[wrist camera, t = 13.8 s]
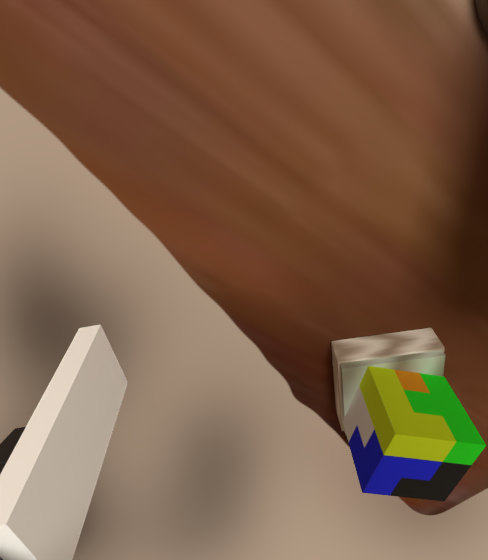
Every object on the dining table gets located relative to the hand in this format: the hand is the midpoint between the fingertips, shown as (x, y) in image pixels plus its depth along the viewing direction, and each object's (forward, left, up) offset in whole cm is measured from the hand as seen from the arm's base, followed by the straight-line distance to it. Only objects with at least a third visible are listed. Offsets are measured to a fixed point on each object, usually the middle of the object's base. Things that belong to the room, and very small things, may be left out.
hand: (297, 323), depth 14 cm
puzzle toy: (-12, +34, -27) cm, 45 cm away
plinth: (-12, +34, -31) cm, 48 cm away
